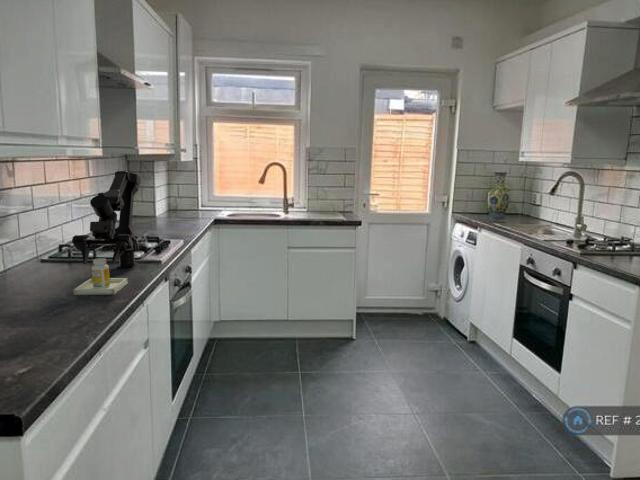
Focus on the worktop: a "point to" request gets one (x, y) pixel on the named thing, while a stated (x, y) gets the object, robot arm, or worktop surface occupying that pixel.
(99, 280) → the supplement bottle
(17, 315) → the worktop surface
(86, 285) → the sage tray
